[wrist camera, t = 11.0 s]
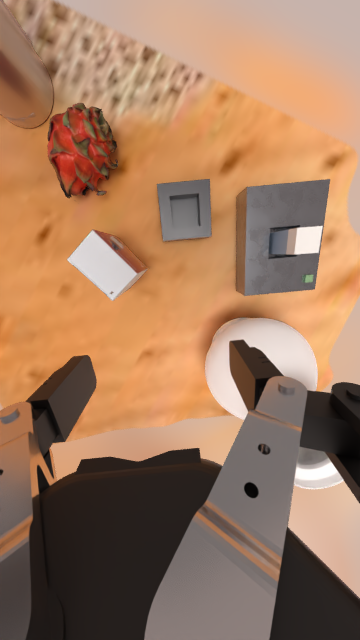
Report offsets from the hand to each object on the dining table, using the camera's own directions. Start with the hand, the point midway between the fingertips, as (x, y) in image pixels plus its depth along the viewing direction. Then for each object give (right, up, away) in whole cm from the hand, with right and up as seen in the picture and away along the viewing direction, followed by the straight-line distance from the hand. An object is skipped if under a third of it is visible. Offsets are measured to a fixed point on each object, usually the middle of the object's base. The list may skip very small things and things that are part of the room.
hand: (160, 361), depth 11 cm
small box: (-9, +13, +25) cm, 30 cm away
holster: (+2, +21, +22) cm, 30 cm away
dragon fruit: (-13, +27, +20) cm, 36 cm away
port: (+17, +16, +24) cm, 34 cm away
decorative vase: (+14, -3, +31) cm, 34 cm away
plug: (+17, +16, +23) cm, 33 cm away
